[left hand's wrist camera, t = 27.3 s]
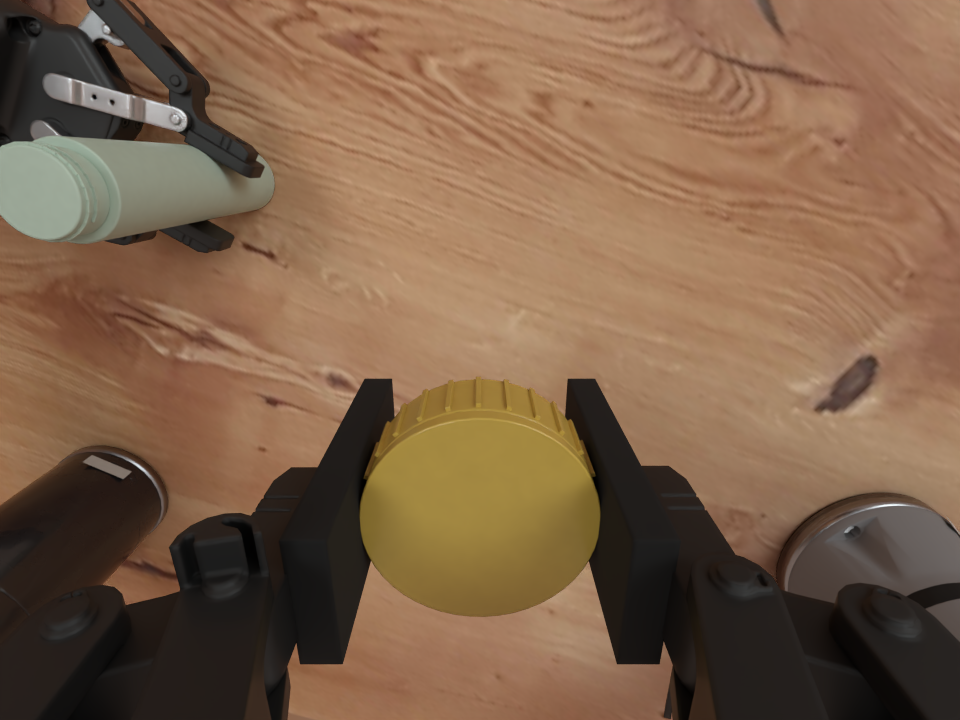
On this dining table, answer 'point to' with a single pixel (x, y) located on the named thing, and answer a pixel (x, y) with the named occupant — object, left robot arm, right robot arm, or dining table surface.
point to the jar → (118, 188)
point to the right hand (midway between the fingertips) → (240, 208)
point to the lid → (479, 500)
